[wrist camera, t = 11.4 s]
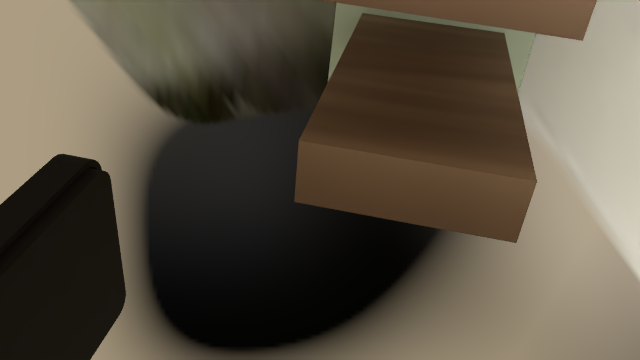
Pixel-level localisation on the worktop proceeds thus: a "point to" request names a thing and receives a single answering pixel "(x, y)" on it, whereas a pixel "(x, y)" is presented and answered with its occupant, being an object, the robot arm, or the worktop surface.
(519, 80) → the pad
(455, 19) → the domino
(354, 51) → the domino
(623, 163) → the worktop surface
